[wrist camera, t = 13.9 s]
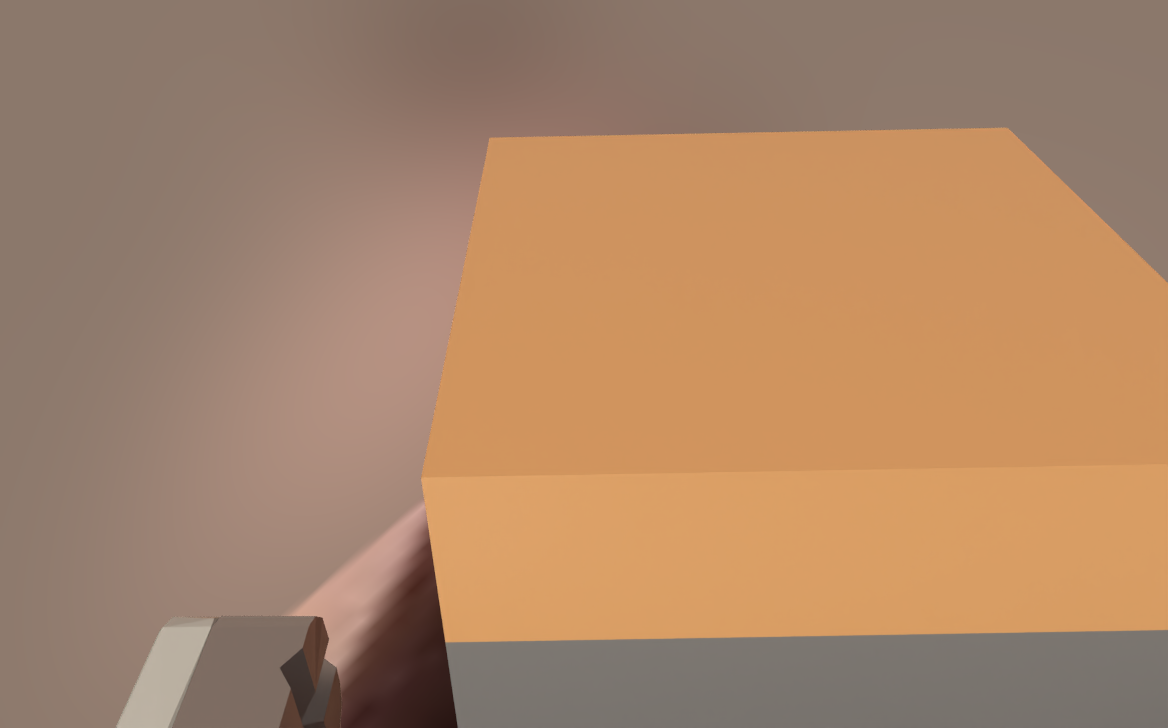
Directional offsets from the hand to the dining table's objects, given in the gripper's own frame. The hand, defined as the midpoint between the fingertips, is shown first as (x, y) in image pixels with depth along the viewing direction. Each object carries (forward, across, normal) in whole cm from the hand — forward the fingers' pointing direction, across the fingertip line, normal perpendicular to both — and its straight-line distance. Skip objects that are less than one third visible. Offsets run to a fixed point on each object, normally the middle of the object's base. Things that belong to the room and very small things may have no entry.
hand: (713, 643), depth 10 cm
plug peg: (-1, 0, +11) cm, 11 cm away
